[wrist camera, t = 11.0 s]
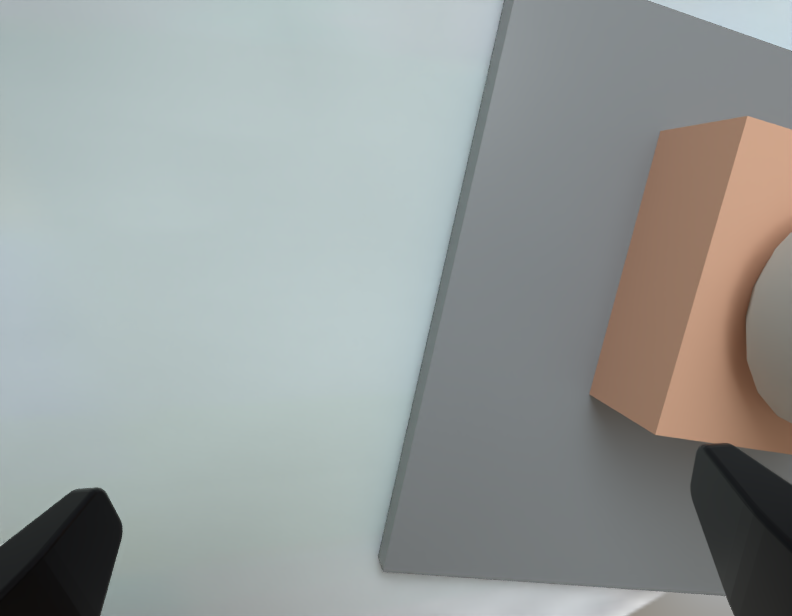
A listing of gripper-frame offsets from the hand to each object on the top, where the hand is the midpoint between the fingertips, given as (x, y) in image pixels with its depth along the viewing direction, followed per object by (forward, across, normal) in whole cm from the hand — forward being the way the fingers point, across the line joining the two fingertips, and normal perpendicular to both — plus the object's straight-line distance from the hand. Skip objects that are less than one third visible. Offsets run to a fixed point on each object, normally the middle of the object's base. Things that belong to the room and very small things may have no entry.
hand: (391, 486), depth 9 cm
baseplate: (+14, -9, +7) cm, 18 cm away
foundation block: (+14, -12, +6) cm, 20 cm away
